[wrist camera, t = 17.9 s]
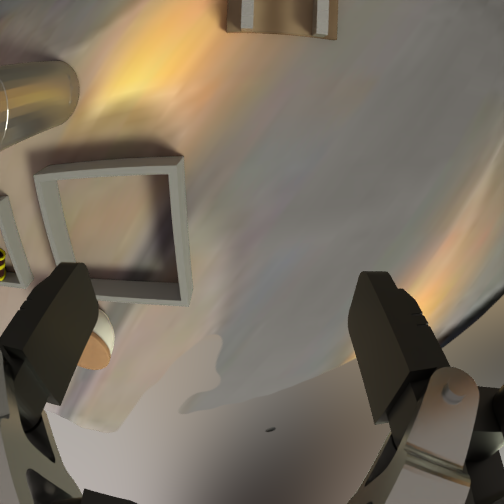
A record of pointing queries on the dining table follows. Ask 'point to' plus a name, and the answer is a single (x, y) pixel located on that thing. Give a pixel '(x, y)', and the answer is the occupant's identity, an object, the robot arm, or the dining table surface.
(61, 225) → the large tray rim
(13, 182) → the dining table surface
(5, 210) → the small tray rim
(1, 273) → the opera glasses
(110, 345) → the lidded jar
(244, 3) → the rail board
